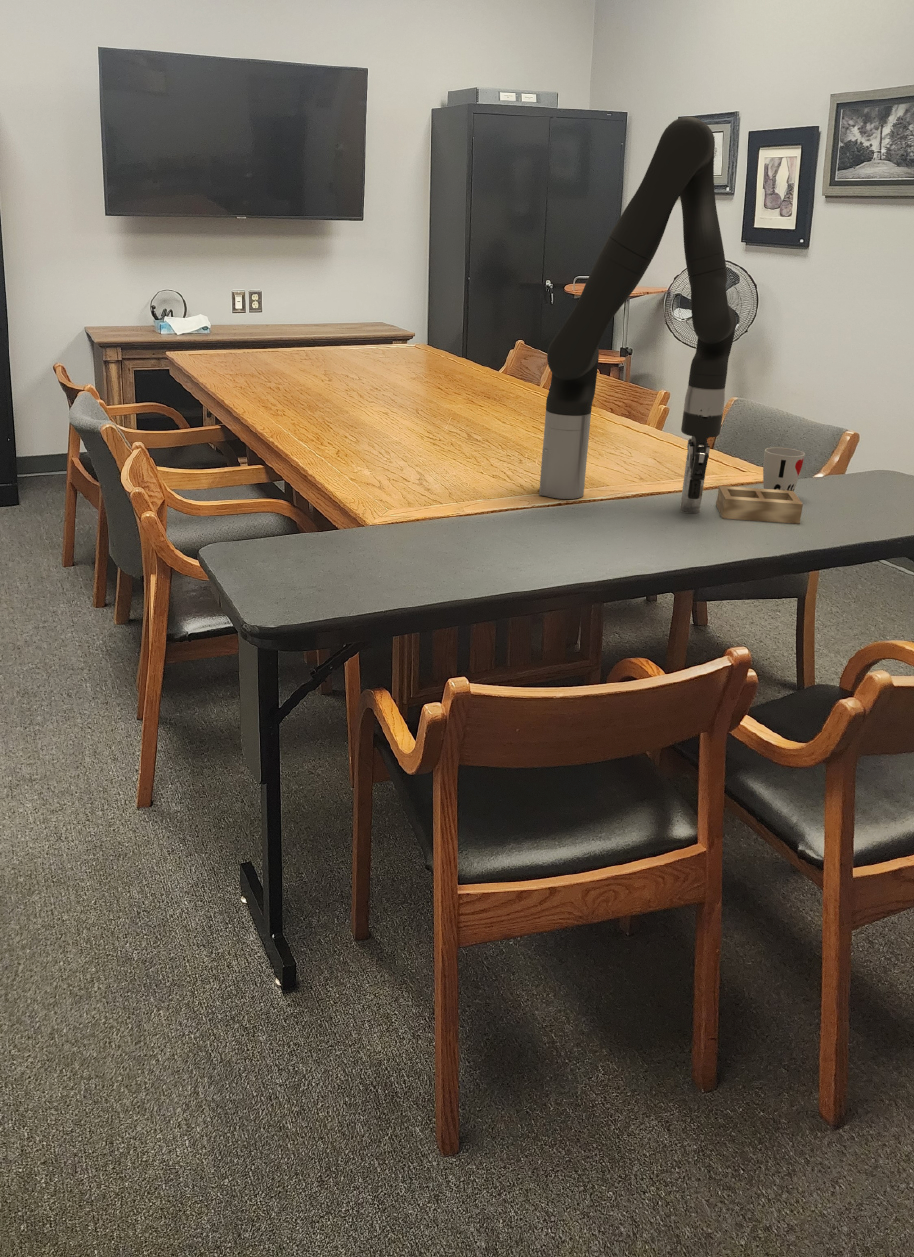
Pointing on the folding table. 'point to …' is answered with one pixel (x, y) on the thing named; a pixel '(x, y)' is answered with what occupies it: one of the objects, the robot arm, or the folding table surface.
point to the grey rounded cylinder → (687, 503)
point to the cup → (782, 468)
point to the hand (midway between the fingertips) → (692, 495)
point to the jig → (759, 504)
